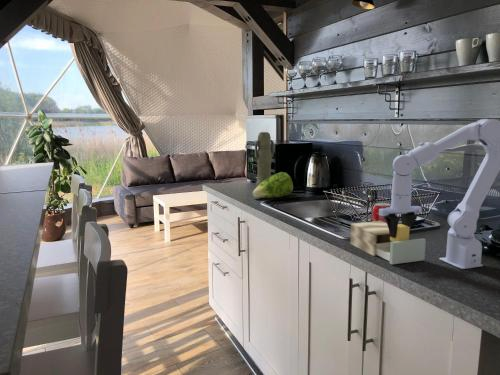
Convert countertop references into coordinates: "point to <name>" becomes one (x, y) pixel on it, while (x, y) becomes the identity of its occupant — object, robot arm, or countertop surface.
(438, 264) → the countertop surface
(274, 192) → the lettuce
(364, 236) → the beige wooden rectangular box
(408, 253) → the pale green drawer
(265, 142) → the thermos
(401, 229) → the block
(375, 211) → the soda can
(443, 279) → the countertop surface
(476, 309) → the countertop surface
